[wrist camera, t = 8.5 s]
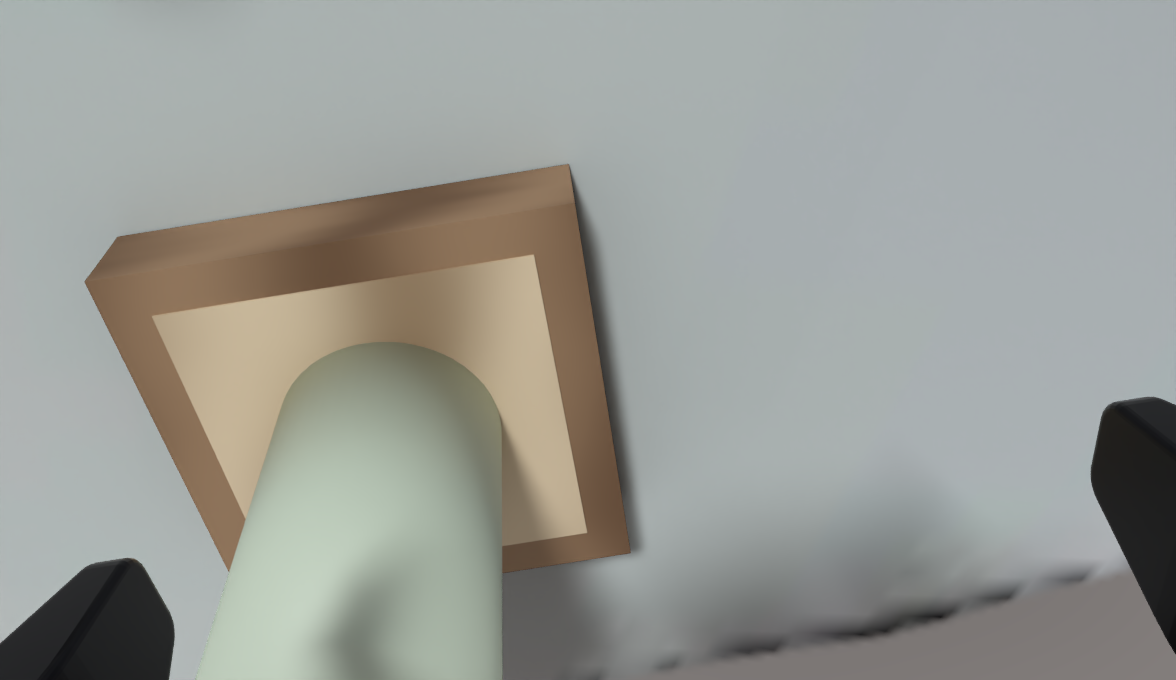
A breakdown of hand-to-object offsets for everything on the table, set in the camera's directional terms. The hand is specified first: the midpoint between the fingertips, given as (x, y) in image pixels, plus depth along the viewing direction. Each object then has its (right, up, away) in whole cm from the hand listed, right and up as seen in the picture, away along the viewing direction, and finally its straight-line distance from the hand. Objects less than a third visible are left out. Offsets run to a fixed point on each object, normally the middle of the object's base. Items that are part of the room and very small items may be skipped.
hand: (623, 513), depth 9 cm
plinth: (-5, +1, +15) cm, 15 cm away
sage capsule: (-5, 0, +13) cm, 14 cm away
